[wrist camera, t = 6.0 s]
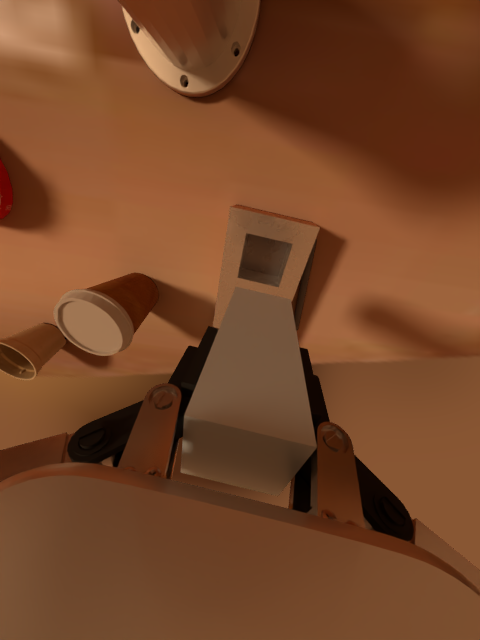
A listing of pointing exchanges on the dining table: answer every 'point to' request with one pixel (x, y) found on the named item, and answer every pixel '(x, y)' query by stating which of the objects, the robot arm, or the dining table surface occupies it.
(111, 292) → the disposable coffee cup
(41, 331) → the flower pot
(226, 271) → the panel
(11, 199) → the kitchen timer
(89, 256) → the dining table surface
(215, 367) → the plug
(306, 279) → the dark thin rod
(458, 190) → the dining table surface
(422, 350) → the dining table surface
